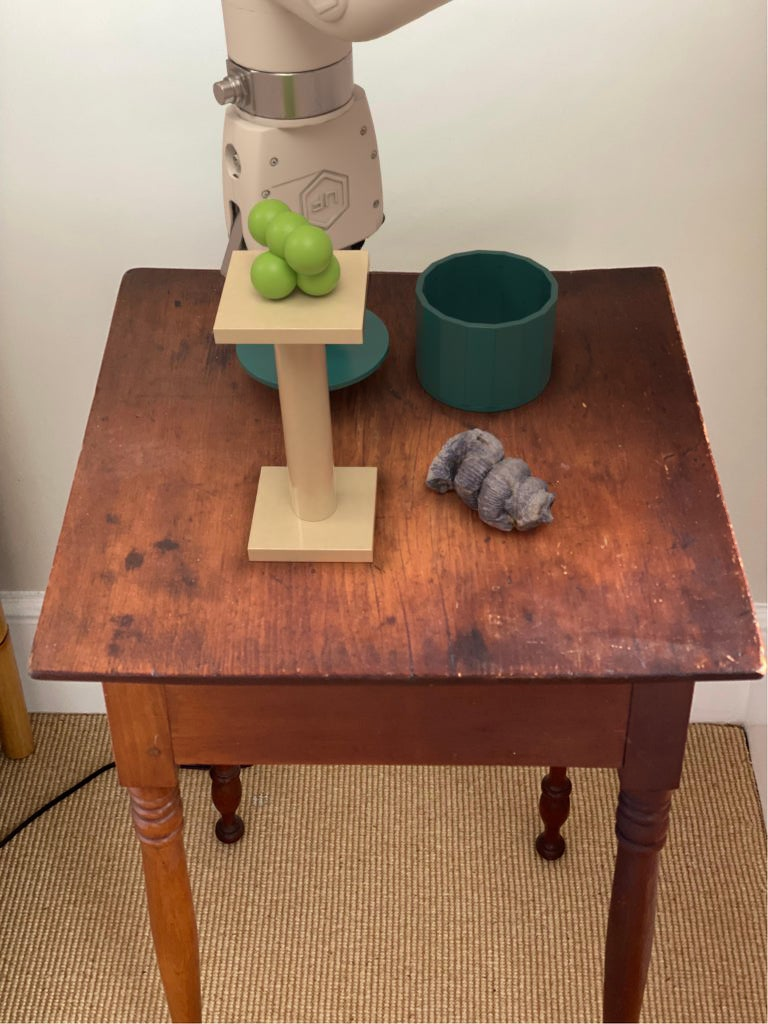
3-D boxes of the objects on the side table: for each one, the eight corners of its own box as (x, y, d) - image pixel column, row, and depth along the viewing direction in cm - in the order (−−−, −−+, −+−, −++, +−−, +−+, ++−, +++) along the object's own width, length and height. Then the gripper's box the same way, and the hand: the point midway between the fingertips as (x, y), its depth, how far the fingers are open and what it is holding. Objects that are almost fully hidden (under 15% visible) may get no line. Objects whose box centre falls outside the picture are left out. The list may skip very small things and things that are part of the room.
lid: (420, 359, 83) (420, 280, 78) (292, 420, 78) (284, 340, 73) (332, 293, 89) (327, 216, 84) (209, 345, 84) (196, 267, 80)
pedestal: (378, 479, 78) (369, 249, 66) (372, 563, 73) (362, 328, 60) (262, 478, 79) (232, 250, 66) (248, 561, 73) (212, 328, 60)
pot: (577, 376, 86) (587, 292, 81) (475, 430, 82) (478, 345, 77) (489, 317, 92) (493, 235, 87) (390, 364, 88) (387, 281, 83)
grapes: (357, 298, 62) (353, 224, 59) (287, 328, 60) (280, 254, 57) (294, 252, 66) (288, 181, 63) (227, 279, 64) (217, 207, 61)
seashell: (432, 489, 79) (545, 562, 74) (400, 467, 75) (518, 544, 70) (474, 425, 79) (589, 494, 74) (444, 399, 74) (566, 471, 69)
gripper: (209, 138, 64) (244, 397, 76) (433, 63, 71) (431, 312, 83) (145, 95, 68) (188, 346, 81) (362, 27, 75) (370, 269, 88)
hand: (311, 327), depth 82 cm, fingers closed on lid, 2 cm apart
